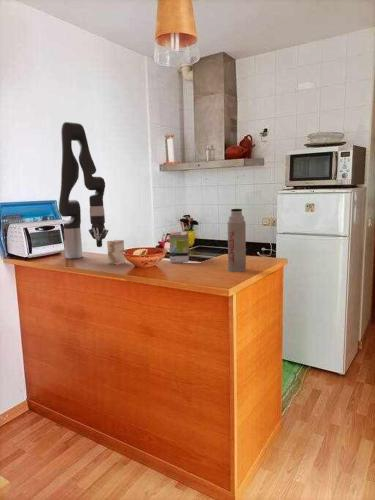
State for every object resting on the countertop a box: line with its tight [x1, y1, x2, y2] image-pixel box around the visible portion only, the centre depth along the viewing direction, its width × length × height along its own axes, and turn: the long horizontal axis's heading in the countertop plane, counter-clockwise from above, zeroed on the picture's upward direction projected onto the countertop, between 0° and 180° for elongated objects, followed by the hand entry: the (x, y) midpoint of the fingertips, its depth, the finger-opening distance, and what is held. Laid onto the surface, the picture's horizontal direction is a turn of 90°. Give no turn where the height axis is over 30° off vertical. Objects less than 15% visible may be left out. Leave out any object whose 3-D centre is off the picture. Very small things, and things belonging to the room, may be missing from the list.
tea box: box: [168, 231, 190, 264], centre depth 198 cm, size 15×10×15 cm, turn 179°
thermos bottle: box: [227, 208, 247, 273], centre depth 169 cm, size 8×8×28 cm
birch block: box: [106, 239, 126, 266], centre depth 195 cm, size 6×6×12 cm
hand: (99, 246), depth 201 cm, fingers closed
